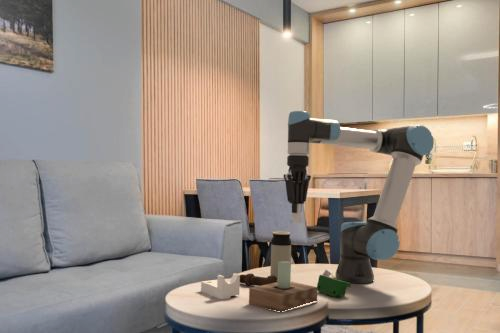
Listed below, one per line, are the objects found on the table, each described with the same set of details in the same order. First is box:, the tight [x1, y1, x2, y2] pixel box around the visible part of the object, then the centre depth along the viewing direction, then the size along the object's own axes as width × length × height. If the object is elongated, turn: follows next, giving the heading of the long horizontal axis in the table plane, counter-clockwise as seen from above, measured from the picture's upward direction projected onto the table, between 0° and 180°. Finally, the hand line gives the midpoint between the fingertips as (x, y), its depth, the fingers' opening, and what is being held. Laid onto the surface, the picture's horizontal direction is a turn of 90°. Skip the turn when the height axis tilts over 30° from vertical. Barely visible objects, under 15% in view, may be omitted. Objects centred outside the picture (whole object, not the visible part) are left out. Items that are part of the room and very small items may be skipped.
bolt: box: [239, 272, 278, 287], centre depth 175 cm, size 6×5×15 cm
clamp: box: [316, 274, 352, 298], centre depth 167 cm, size 12×6×9 cm, turn 21°
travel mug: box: [269, 231, 292, 280], centre depth 194 cm, size 8×8×18 cm
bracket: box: [200, 272, 241, 300], centre depth 162 cm, size 13×7×8 cm, turn 36°
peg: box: [277, 261, 292, 290], centre depth 152 cm, size 4×4×12 cm
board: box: [248, 280, 318, 312], centre depth 152 cm, size 18×13×5 cm
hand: (296, 222), depth 169 cm, fingers closed
